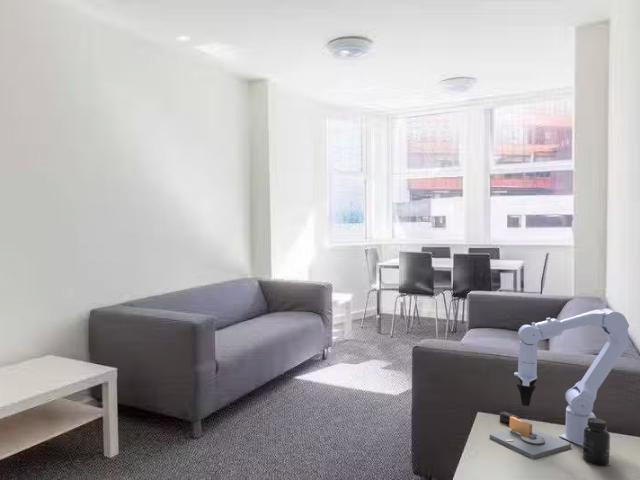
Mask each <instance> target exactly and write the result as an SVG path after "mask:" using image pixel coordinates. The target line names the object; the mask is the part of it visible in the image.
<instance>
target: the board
mask: <svg viewBox="0 0 640 480" xmlns="http://www.w3.org/2000/svg"><path fill="white" fill-rule="evenodd" d="M532 433H534V434H536V435H539V436H541V437H543V438H544V439H545V442H544V443H543V444H532V443H528V442H526V441H523V440H522V439H521V437H520V436H521V434H520V433H517V432H515V431H513V430H511V429H507V430H503V431H498V432H493V433H490V434H489V439H491V440H493V441H495V442H497V443H498V444H501V445H503V446H505V447H507V448H509V449H511V450H513V451H515V452H517V453H520V454H521V455H524V456H525V457H528V458H530V459H532V460H534V459H538V458H541V457H545V456H548V455H551V454H555V453H558V452H561V451H564V450H567V449H568V450H569V449H571V448H572V444H571V442H568V441H565V440H562V439H561V438H558V437H555V436H553V435H552V434H551V435H550V434H548V433H546V432H543V431H542V430H539V429H536V428H534V427H532Z"/></svg>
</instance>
